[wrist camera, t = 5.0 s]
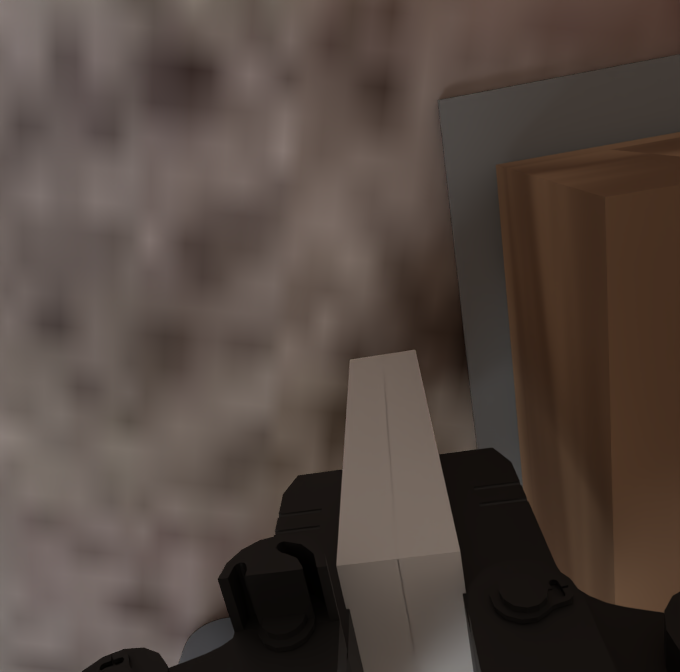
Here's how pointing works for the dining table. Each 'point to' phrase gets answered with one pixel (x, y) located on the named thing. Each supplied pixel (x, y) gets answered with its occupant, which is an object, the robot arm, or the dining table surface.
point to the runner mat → (483, 203)
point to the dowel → (207, 639)
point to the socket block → (599, 360)
